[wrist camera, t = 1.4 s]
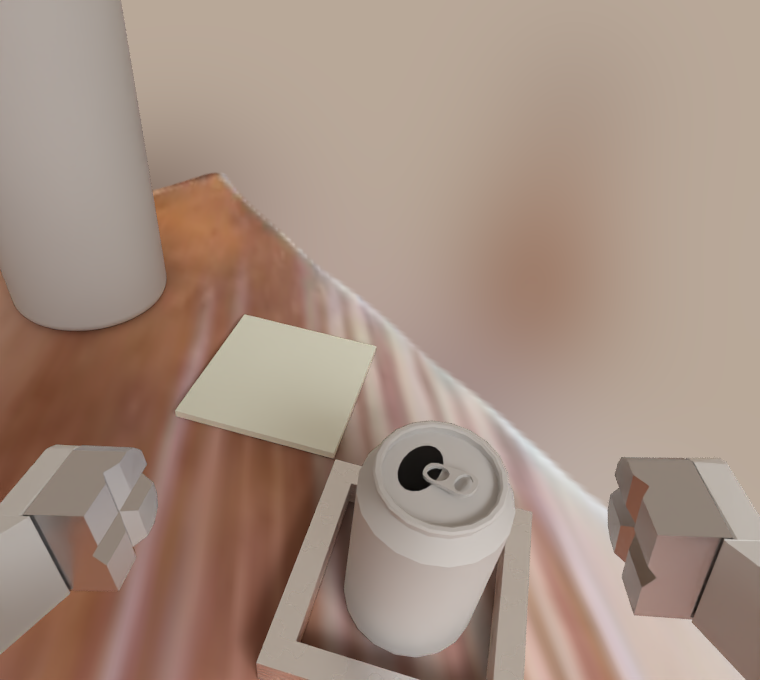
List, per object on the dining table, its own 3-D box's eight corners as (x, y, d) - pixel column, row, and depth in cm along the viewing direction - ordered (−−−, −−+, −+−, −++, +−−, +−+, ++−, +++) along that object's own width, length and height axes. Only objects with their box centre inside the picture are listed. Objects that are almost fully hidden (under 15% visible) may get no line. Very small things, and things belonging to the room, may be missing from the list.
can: (385, 515, 38) (411, 385, 30) (490, 579, 35) (548, 455, 27) (316, 611, 32) (325, 484, 25) (433, 694, 30) (484, 581, 22)
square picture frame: (257, 678, 30) (256, 662, 28) (334, 477, 39) (335, 459, 38) (509, 759, 28) (520, 747, 27) (523, 529, 38) (532, 512, 37)
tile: (175, 416, 42) (174, 410, 42) (244, 319, 51) (244, 314, 51) (333, 458, 41) (334, 453, 40) (375, 351, 50) (376, 346, 49)
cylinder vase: (-8, 336, 46) (-166, -28, 30) (39, 252, 56) (-63, -61, 39) (157, 334, 48) (90, -7, 32) (175, 253, 58) (131, -43, 42)
